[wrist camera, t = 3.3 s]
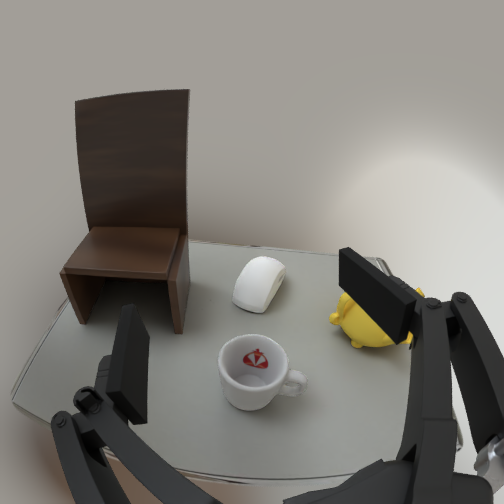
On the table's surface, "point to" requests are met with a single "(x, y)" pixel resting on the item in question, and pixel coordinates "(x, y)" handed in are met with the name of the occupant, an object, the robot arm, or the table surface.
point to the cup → (256, 372)
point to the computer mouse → (258, 284)
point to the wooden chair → (132, 197)
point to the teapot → (361, 324)
